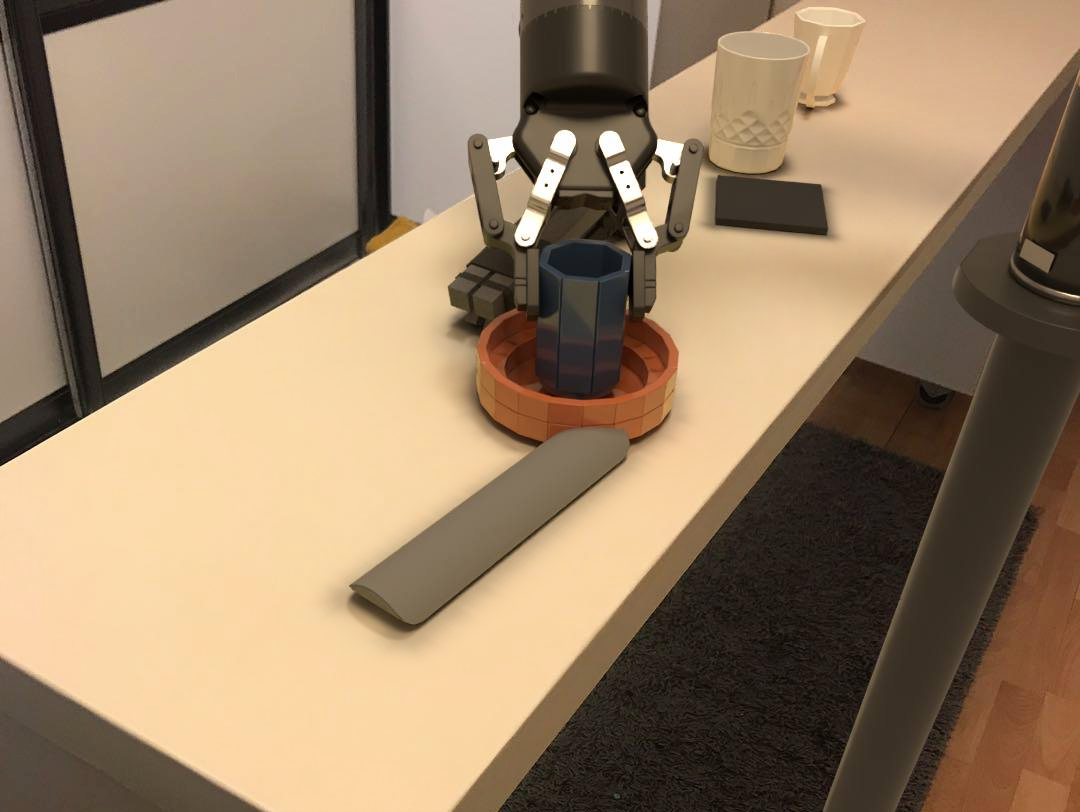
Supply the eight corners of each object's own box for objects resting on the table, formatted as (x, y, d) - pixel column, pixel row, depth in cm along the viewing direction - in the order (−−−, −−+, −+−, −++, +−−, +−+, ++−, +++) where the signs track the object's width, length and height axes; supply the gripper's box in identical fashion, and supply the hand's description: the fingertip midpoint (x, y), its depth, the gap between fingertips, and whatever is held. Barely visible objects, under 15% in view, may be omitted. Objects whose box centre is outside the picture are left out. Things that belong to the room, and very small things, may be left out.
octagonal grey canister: (623, 360, 68) (634, 243, 63) (616, 405, 64) (627, 284, 59) (542, 352, 68) (546, 235, 63) (530, 396, 64) (534, 276, 59)
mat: (819, 190, 93) (821, 184, 93) (826, 235, 86) (828, 228, 86) (716, 181, 94) (717, 174, 93) (715, 224, 87) (716, 217, 87)
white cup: (695, 169, 95) (711, 52, 89) (708, 139, 101) (724, 26, 95) (783, 182, 94) (806, 63, 88) (792, 150, 100) (814, 37, 93)
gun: (654, 228, 85) (646, 120, 76) (521, 405, 77) (496, 306, 69) (605, 213, 86) (592, 106, 78) (470, 385, 79) (440, 286, 70)
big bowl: (675, 357, 71) (682, 310, 69) (666, 465, 62) (674, 415, 60) (495, 338, 72) (495, 291, 70) (460, 442, 63) (460, 392, 61)
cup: (850, 93, 113) (869, 11, 107) (840, 125, 106) (859, 38, 100) (784, 84, 114) (799, 2, 109) (770, 114, 107) (785, 28, 102)
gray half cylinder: (342, 597, 52) (339, 570, 51) (576, 424, 64) (577, 399, 63) (405, 637, 51) (404, 610, 49) (634, 451, 62) (637, 426, 61)
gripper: (459, -5, 58) (458, 298, 57) (718, 2, 59) (722, 302, 58) (462, 65, 66) (462, 334, 65) (692, 70, 67) (696, 337, 66)
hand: (585, 317), depth 61 cm, fingers closed on octagonal grey canister, 5 cm apart
